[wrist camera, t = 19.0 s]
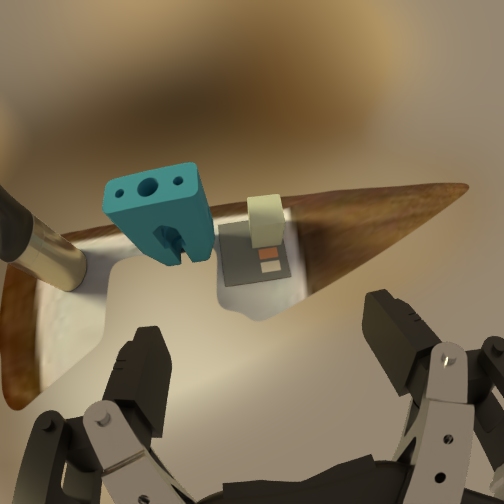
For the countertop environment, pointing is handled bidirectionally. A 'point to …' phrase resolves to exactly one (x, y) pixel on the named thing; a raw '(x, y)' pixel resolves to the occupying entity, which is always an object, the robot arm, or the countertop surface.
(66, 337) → the countertop surface
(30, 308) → the countertop surface
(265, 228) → the sage block
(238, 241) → the marker mat
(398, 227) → the countertop surface
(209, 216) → the block
